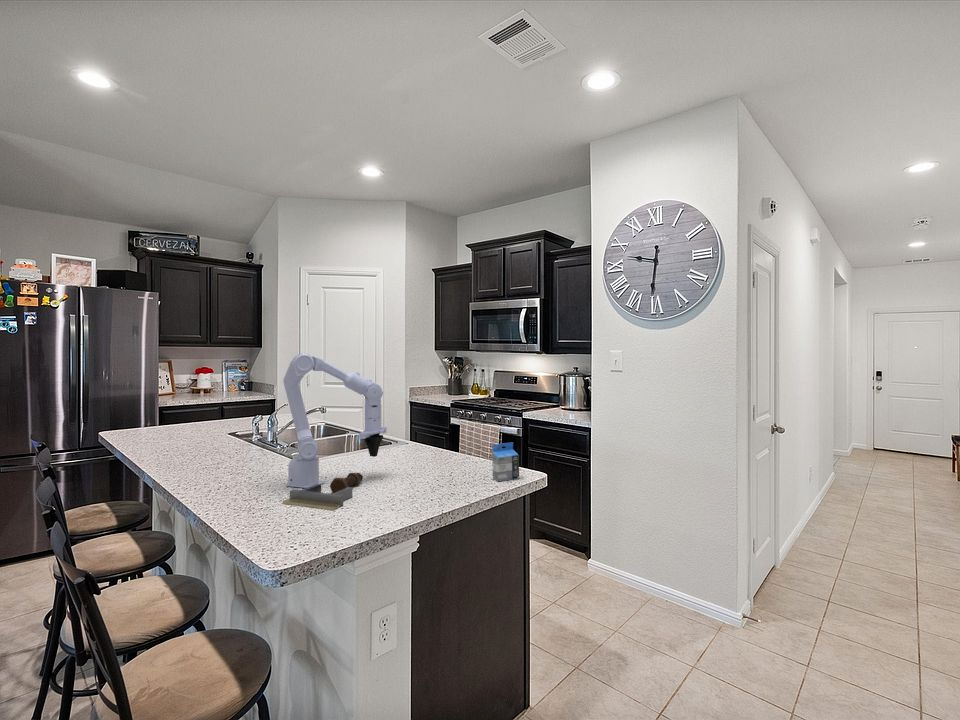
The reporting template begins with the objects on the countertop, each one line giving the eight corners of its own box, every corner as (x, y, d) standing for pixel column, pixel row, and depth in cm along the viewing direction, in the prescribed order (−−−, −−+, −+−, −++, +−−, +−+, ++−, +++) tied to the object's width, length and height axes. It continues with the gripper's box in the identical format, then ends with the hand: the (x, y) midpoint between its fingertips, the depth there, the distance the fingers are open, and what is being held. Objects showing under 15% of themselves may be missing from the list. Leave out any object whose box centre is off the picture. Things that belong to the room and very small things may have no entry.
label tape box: (498, 482, 171) (498, 446, 171) (492, 479, 175) (491, 444, 175) (519, 478, 176) (519, 443, 176) (513, 476, 179) (512, 442, 179)
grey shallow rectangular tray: (282, 503, 148) (282, 493, 148) (310, 492, 159) (310, 483, 159) (333, 510, 141) (333, 499, 141) (359, 498, 153) (359, 488, 153)
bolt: (361, 488, 172) (339, 499, 157) (349, 480, 173) (327, 490, 158) (369, 473, 171) (348, 483, 156) (357, 465, 172) (335, 474, 157)
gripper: (371, 420, 168) (371, 461, 169) (393, 415, 182) (394, 452, 182) (353, 419, 171) (354, 459, 171) (376, 414, 184) (377, 451, 185)
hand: (373, 456), depth 177 cm, fingers closed
